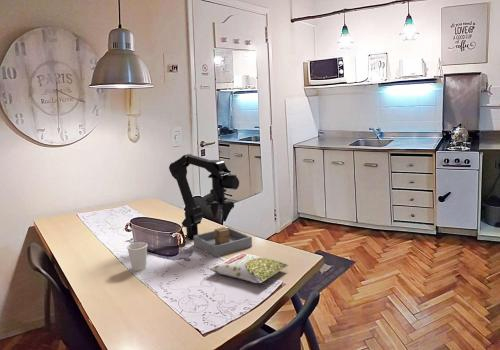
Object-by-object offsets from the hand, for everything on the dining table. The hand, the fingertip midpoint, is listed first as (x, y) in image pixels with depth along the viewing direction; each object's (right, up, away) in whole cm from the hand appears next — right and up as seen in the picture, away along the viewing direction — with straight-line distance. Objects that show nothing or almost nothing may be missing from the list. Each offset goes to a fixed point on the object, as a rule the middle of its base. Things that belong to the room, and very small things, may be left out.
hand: (219, 219), depth 200 cm
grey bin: (+2, -12, -2) cm, 13 cm away
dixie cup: (-32, -18, -25) cm, 45 cm away
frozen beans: (+14, -18, -35) cm, 42 cm away
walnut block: (+2, -11, -2) cm, 12 cm away
